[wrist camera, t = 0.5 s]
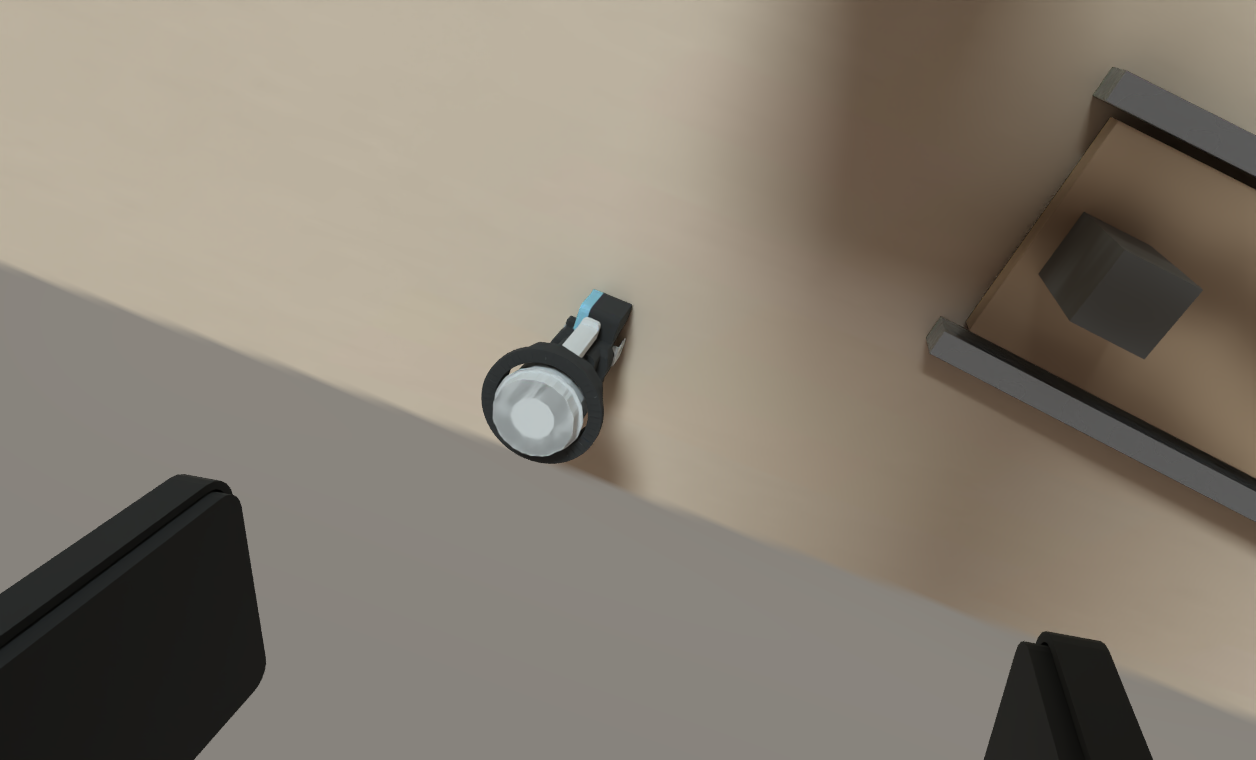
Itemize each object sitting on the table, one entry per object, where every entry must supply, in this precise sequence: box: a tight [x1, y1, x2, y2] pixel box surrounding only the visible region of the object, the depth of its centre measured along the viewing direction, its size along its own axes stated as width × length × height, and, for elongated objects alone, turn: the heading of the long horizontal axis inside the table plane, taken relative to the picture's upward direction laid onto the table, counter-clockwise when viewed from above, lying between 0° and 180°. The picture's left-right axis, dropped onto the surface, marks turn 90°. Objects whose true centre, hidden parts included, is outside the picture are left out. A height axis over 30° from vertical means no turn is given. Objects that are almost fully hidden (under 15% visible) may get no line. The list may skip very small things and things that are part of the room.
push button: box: [481, 289, 632, 464], centre depth 40 cm, size 7×5×10 cm
